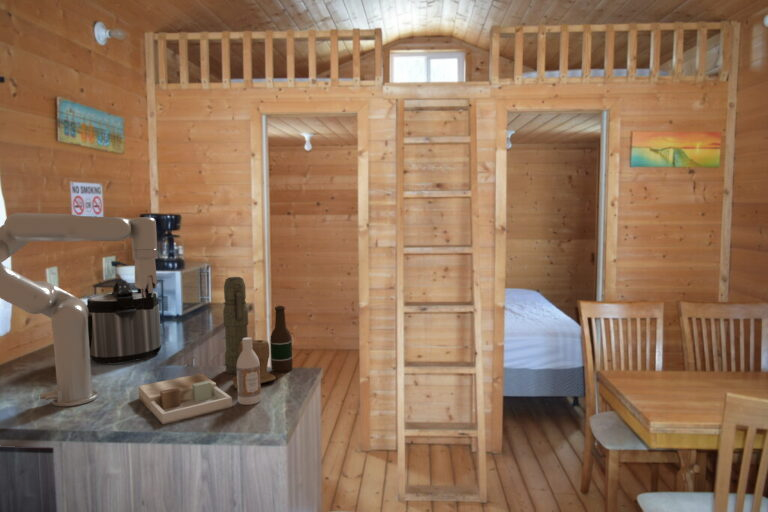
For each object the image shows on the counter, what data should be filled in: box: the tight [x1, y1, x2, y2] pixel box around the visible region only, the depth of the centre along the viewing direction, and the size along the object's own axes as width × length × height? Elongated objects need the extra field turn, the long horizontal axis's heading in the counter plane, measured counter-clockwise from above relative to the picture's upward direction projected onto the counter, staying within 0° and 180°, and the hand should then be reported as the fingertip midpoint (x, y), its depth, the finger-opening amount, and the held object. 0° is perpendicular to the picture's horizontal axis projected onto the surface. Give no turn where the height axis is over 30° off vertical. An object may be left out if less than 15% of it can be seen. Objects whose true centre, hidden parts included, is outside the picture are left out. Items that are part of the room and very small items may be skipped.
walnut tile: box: [160, 388, 181, 410], centre depth 155 cm, size 5×5×2 cm
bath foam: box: [236, 336, 262, 406], centre depth 159 cm, size 7×7×20 cm
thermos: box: [222, 276, 249, 375], centre depth 191 cm, size 9×12×35 cm
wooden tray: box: [137, 373, 217, 412], centre depth 165 cm, size 20×14×4 cm
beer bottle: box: [269, 305, 293, 374], centre depth 191 cm, size 8×8×24 cm
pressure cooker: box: [86, 280, 162, 365], centre depth 213 cm, size 30×28×32 cm
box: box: [150, 386, 233, 425], centre depth 154 cm, size 20×13×3 cm, turn 128°
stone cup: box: [232, 339, 277, 389], centre depth 177 cm, size 15×12×15 cm
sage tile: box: [192, 381, 211, 402], centre depth 161 cm, size 5×5×2 cm
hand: (148, 309), depth 172 cm, fingers closed
